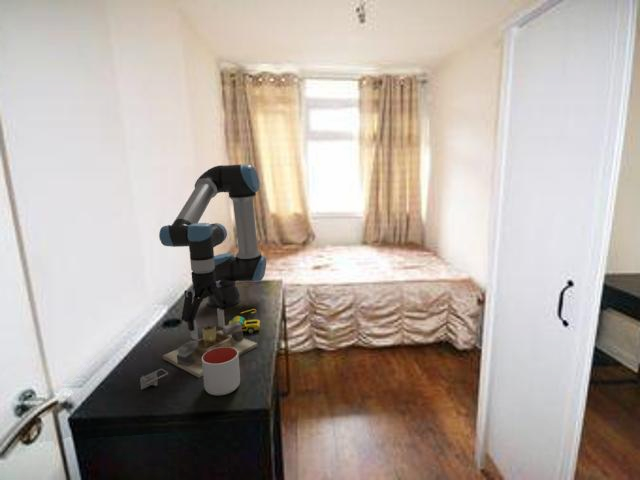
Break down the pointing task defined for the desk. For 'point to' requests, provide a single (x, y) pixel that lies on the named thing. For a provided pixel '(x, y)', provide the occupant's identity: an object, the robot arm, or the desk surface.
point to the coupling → (209, 335)
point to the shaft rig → (194, 350)
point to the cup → (221, 370)
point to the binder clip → (150, 379)
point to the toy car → (246, 323)
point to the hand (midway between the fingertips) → (208, 332)
